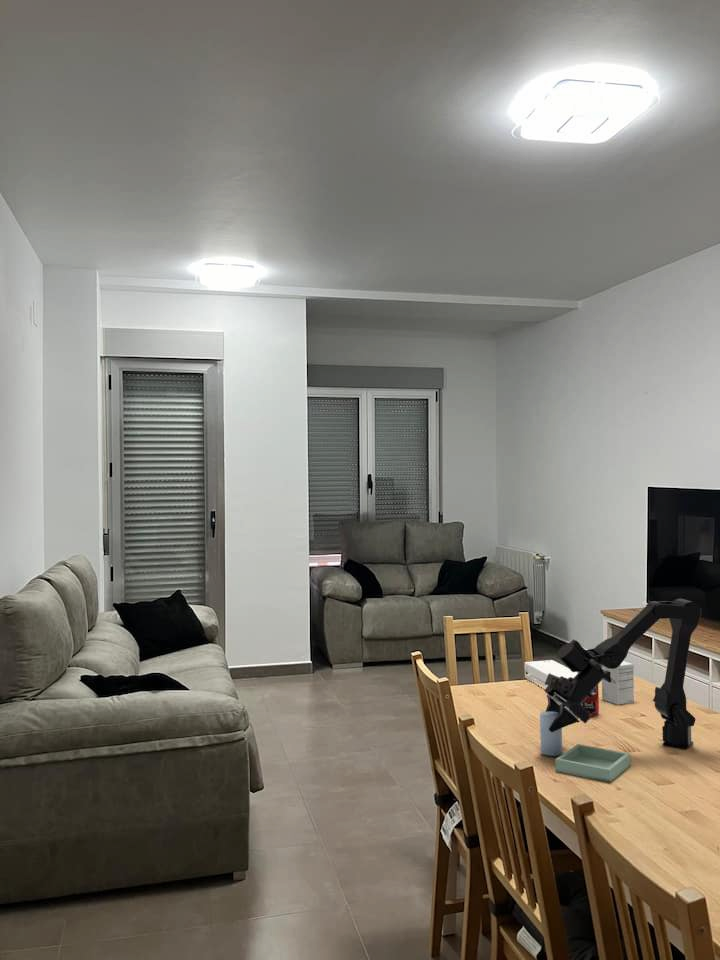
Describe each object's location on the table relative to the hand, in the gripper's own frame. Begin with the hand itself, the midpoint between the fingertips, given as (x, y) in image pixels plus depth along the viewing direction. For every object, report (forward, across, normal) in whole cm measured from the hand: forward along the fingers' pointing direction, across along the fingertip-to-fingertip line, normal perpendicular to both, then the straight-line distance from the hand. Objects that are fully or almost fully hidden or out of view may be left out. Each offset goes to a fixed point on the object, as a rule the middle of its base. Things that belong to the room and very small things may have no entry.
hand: (545, 727), depth 222 cm
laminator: (-14, -64, +26) cm, 70 cm away
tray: (0, +12, +11) cm, 16 cm away
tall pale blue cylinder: (+4, 0, +6) cm, 7 cm away
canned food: (-12, -33, +23) cm, 42 cm away
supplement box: (-23, -44, +34) cm, 61 cm away
